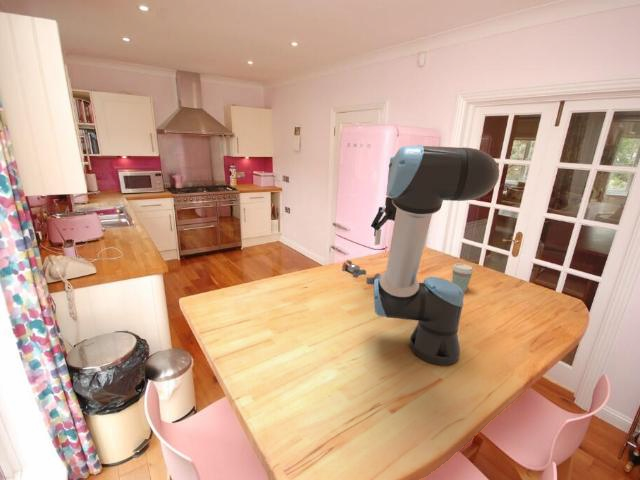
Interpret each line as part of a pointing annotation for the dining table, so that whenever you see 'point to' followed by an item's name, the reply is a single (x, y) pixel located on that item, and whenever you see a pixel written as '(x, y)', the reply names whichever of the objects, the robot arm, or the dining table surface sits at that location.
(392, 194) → the robot arm
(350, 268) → the pipe fitting
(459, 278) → the coffee cup
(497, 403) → the dining table surface
